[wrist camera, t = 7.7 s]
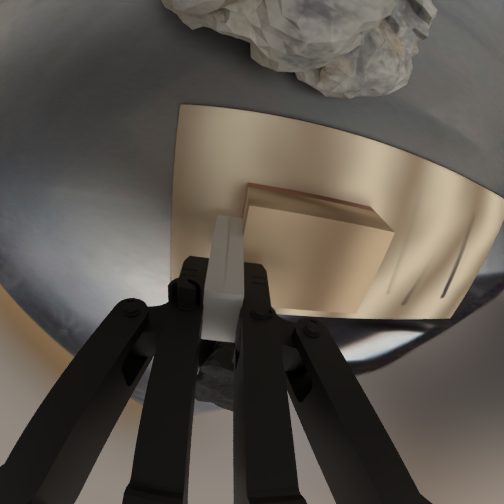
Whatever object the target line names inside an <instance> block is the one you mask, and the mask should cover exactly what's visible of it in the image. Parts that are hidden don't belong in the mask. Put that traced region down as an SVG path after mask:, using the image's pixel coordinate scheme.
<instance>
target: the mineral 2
mask: <svg viewBox="0 0 504 504" xmlns="http://www.w3.org/2000/svg"><path fill="white" fill-rule="evenodd" d="M161 1H162V3H163V5H164V7H165V8H167V9H169V10H171V11H173V12H174V13H175V14H177V15H178V16H179V19H181V20H182V22H183V23H184V24H186V25H187V26H188V27H189V28H191V29H192V30H194V29H197V28H200V27H202V26H204V27H208V28H212V29H214V30H215V31H217V32H219V33H221V34H225V35H228V36H232V37H235V38H237V39H238V38H239V39H242V40H244V41H247V42H249V43H250V48H251V58H252V59H253V60H255V61H256V62H257V63H259V64H260V65H262V66H265V67H267V68H270V69H272V70H274V71H277V72H295V74H296V77H297V79H298V80H300V81H303V82H305V83H307V84H309V85H310V86H312V87H313V88H315V89H316V90H318V91H320V92H321V93H322V94H323V95H325V96H326V97H334V98H349V99H351V98H354V97H356V96H362V97H370V96H381V95H388V94H390V93H392V92H394V91H396V90H398V89H400V88H401V87H403V86H405V85H406V84H407V83H408V80H409V77H410V75H411V72H412V69H413V66H412V60H411V57H412V56H413V55H415V54H416V53H418V52H419V50H418V46H417V42H419V41H421V40H424V39H426V38H428V34H429V29H430V25H431V24H432V22H433V20H434V19H435V16H436V13H437V9H436V8H435V6H434V5H433V4H432V1H431V0H161Z"/></svg>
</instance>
